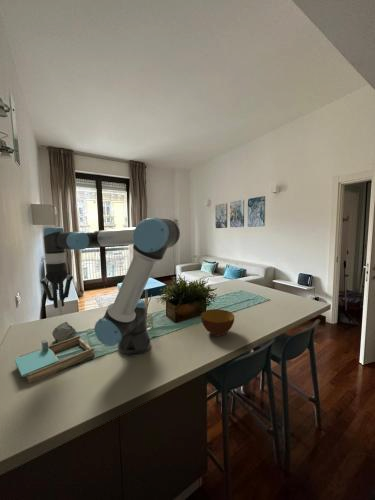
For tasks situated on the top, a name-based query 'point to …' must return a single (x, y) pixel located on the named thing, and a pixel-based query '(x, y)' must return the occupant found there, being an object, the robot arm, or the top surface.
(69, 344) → the wooden box
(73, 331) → the stone
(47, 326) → the top surface
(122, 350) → the robot arm
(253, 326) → the top surface
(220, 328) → the bowl
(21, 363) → the lid
